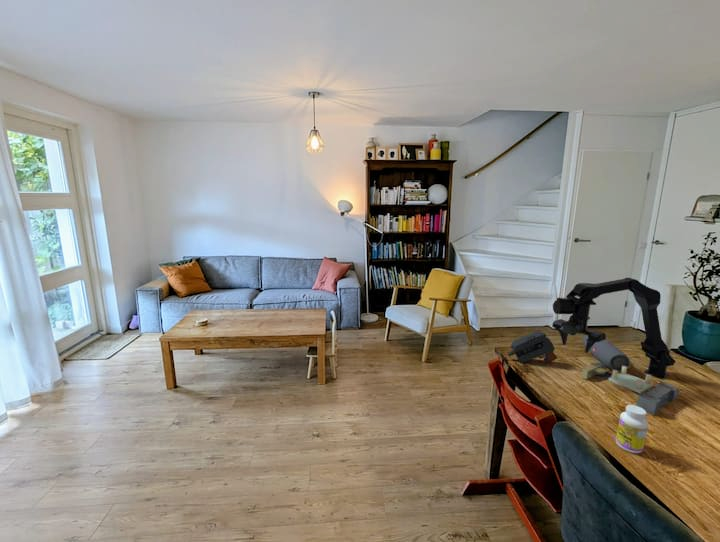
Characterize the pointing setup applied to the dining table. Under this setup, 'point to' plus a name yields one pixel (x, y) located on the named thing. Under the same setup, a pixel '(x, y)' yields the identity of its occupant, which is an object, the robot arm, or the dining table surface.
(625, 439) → the supplement bottle
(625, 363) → the bluetooth speaker
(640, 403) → the grey bone-shaped bar
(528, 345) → the tool
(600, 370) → the brass door handle
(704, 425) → the dining table surface
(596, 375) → the flange
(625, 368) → the rack
